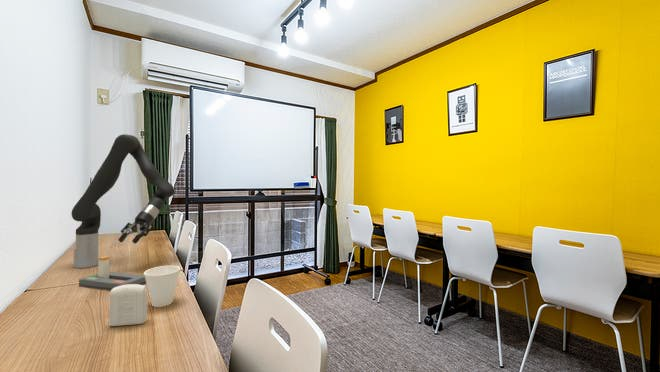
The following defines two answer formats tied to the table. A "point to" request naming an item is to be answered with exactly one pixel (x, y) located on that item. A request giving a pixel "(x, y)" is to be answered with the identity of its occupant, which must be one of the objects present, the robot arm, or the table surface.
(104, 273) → the handle
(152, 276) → the cup
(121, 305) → the photo printer
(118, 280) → the slotted lever switch base
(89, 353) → the table surface
